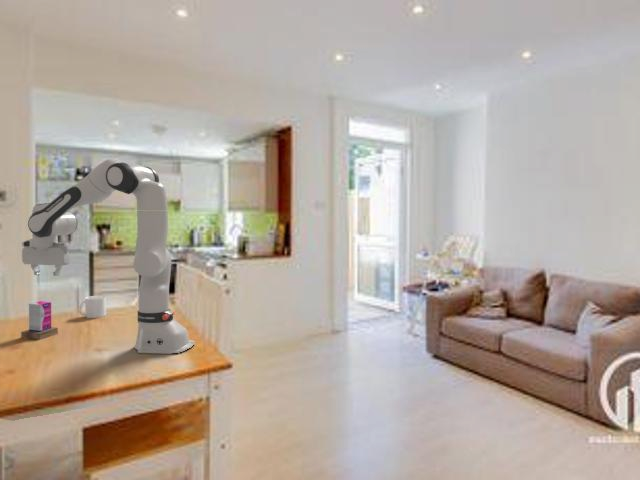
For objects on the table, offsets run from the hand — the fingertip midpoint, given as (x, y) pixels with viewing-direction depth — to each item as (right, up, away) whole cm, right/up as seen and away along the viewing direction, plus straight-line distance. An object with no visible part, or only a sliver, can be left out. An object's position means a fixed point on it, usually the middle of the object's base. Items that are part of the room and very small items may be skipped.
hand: (46, 275), depth 180 cm
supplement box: (-2, -23, -1) cm, 23 cm away
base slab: (-2, -25, -1) cm, 25 cm away
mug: (+3, -23, +32) cm, 39 cm away
